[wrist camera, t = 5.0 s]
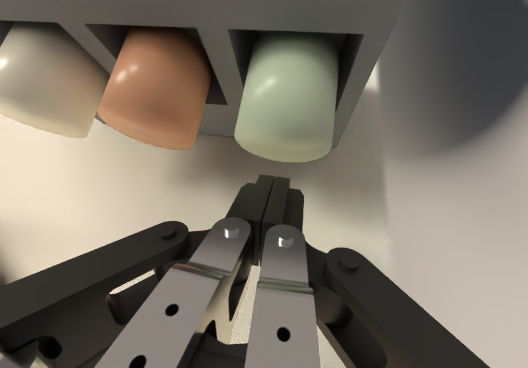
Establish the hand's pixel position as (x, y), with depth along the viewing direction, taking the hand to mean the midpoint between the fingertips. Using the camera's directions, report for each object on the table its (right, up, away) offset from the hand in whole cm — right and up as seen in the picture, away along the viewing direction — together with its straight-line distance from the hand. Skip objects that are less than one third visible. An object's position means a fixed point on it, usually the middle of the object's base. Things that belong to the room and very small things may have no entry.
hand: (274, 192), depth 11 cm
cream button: (-14, +6, +5) cm, 16 cm away
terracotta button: (-6, +5, +4) cm, 9 cm away
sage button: (+1, +4, +3) cm, 6 cm away
